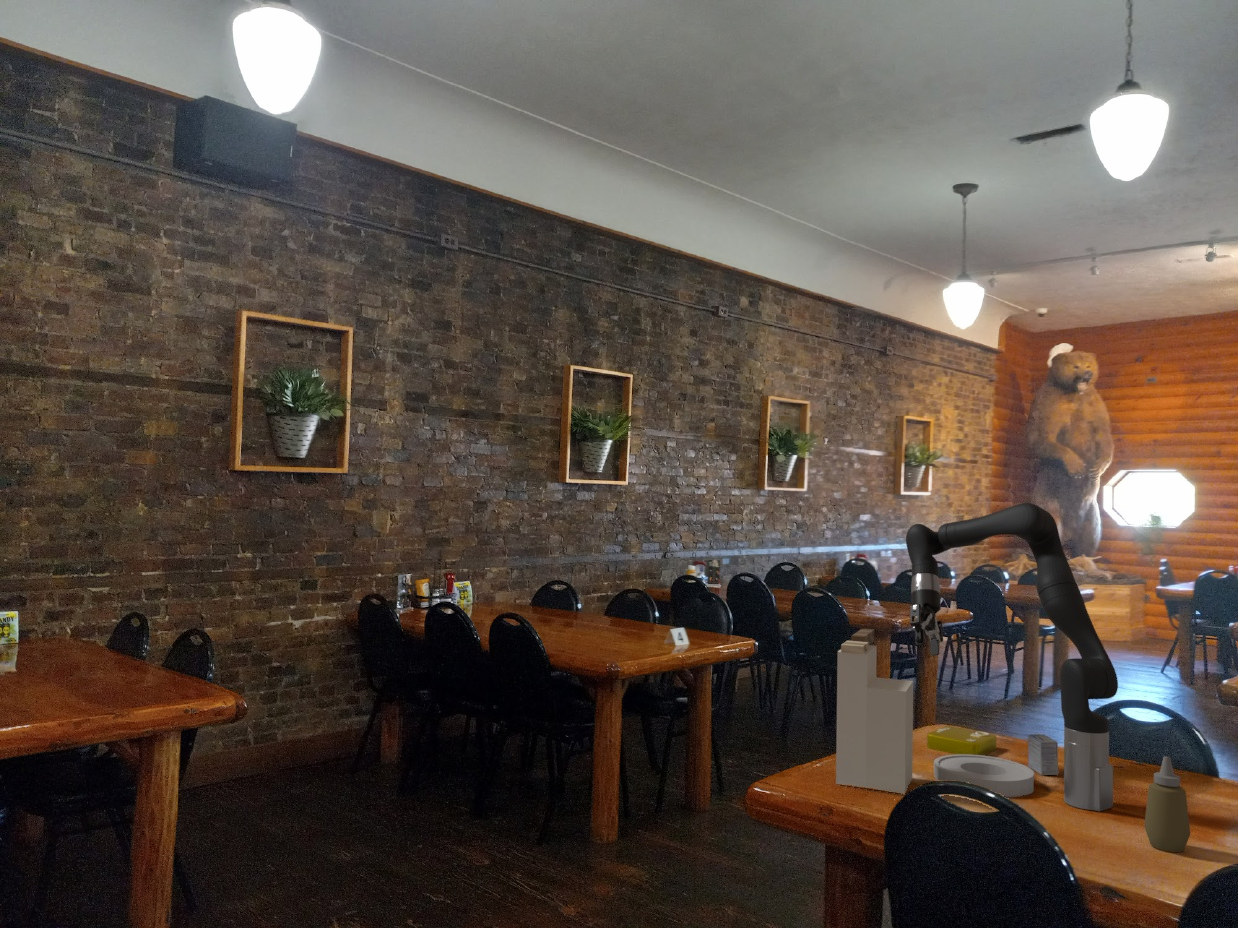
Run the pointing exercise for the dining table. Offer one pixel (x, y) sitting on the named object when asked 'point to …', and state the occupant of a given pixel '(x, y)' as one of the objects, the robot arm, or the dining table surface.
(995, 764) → the ashtray
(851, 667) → the display stand
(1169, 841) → the squeeze bottle
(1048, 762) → the medicine box
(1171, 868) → the dining table surface
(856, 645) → the brown bar
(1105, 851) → the dining table surface
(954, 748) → the element tile
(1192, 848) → the dining table surface
